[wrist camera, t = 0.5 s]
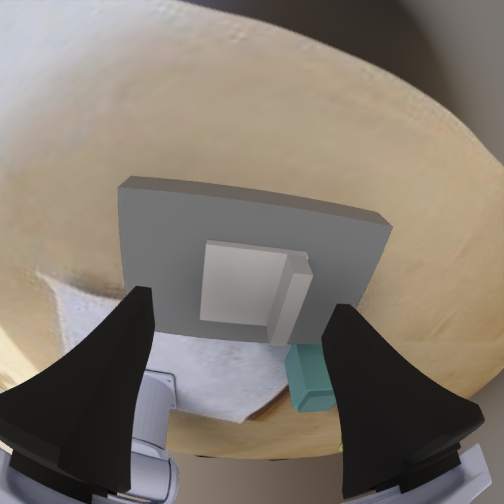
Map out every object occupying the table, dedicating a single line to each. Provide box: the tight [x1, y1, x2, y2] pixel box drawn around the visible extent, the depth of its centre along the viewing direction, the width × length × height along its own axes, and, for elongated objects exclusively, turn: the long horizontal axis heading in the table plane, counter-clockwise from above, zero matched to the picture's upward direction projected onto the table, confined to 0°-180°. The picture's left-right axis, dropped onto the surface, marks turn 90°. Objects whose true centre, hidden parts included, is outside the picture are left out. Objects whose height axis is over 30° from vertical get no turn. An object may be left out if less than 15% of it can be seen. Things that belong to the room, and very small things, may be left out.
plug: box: [285, 344, 336, 412], centre depth 24 cm, size 4×4×7 cm
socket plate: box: [118, 176, 393, 345], centre depth 20 cm, size 12×18×2 cm, turn 80°
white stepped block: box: [200, 240, 313, 347], centre depth 18 cm, size 6×6×3 cm
